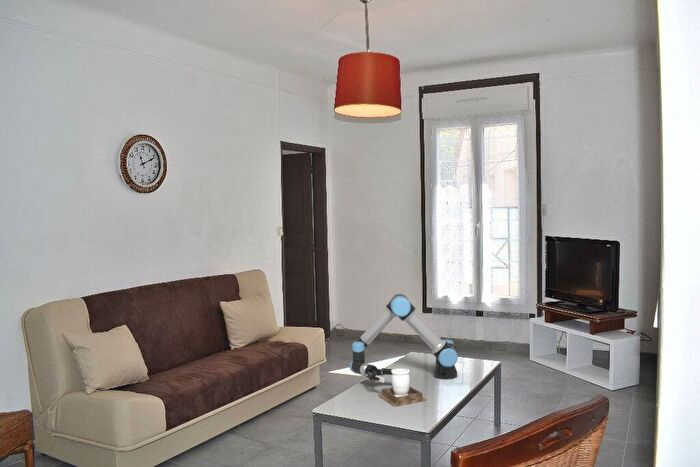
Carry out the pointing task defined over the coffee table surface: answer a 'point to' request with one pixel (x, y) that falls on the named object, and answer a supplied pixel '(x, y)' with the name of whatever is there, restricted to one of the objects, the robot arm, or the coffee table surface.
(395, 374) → the jar
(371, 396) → the coffee table surface
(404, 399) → the holder
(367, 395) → the coffee table surface
